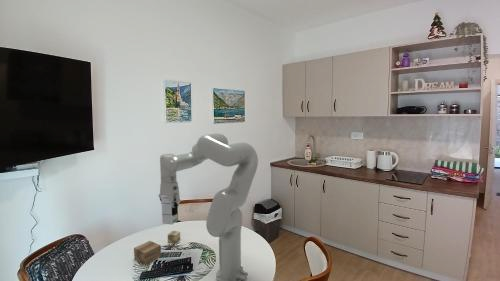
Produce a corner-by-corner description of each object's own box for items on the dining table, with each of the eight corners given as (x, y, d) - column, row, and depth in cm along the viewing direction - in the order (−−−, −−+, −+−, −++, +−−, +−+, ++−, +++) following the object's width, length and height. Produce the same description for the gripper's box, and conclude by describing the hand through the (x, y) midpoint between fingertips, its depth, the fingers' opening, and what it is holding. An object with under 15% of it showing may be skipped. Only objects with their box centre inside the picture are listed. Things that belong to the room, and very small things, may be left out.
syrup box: (172, 224, 129) (171, 196, 128) (161, 223, 131) (160, 195, 129) (178, 220, 135) (177, 193, 133) (168, 219, 136) (167, 192, 135)
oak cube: (180, 239, 150) (180, 231, 150) (175, 244, 146) (175, 235, 145) (172, 239, 152) (172, 230, 151) (167, 243, 147) (167, 234, 146)
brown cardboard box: (161, 256, 132) (160, 245, 132) (145, 265, 125) (144, 253, 124) (150, 251, 137) (149, 240, 137) (134, 259, 130) (133, 247, 129)
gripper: (186, 179, 129) (187, 214, 130) (164, 174, 139) (165, 207, 140) (173, 183, 122) (174, 219, 124) (151, 177, 133) (153, 211, 134)
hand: (169, 212), depth 132 cm, fingers closed on syrup box, 7 cm apart
